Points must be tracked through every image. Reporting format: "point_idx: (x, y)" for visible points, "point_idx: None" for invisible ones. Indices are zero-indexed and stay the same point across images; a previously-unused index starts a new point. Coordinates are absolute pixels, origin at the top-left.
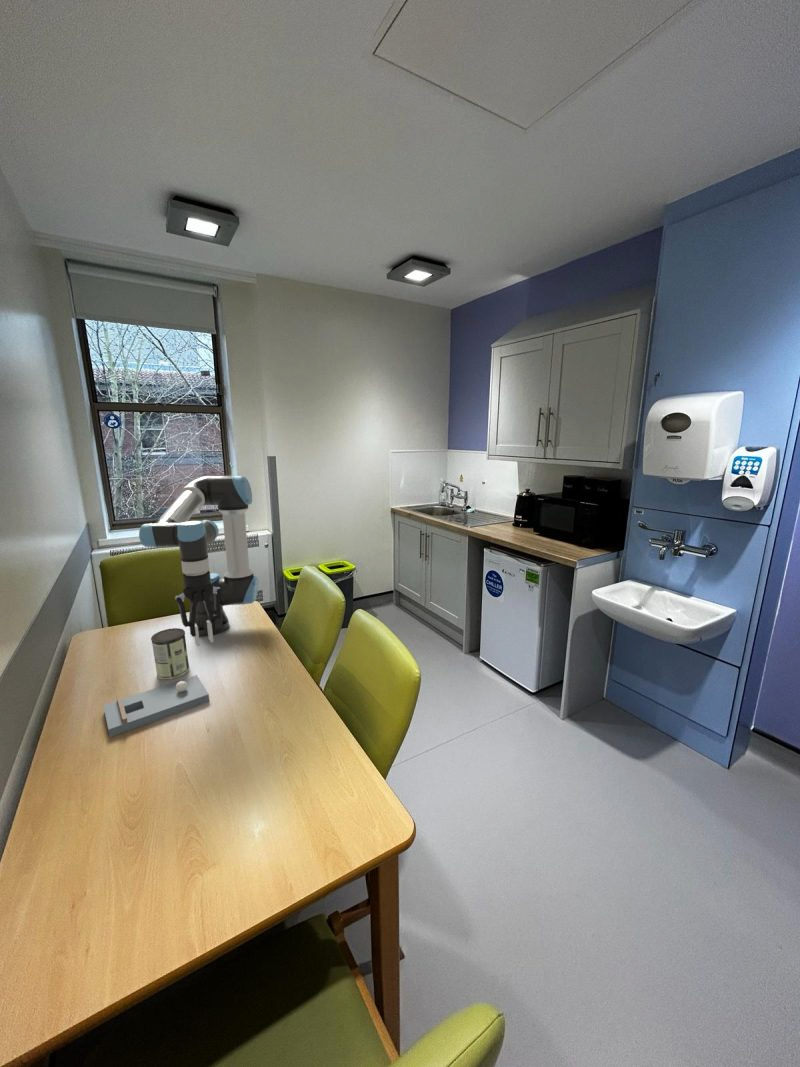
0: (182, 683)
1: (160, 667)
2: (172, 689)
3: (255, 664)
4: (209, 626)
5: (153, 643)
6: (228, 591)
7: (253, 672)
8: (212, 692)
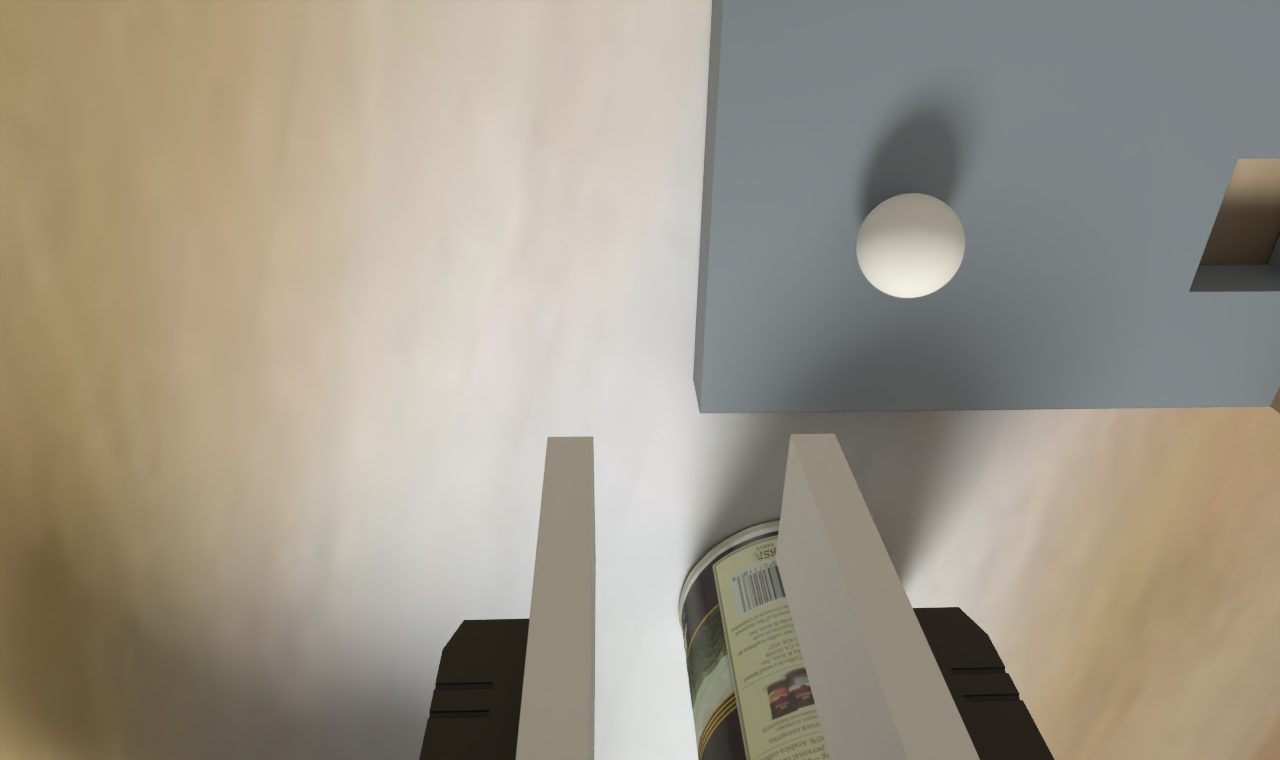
0: (921, 235)
1: None
2: (943, 305)
3: (181, 352)
4: (584, 716)
5: None
6: None
7: (218, 228)
8: (642, 127)
